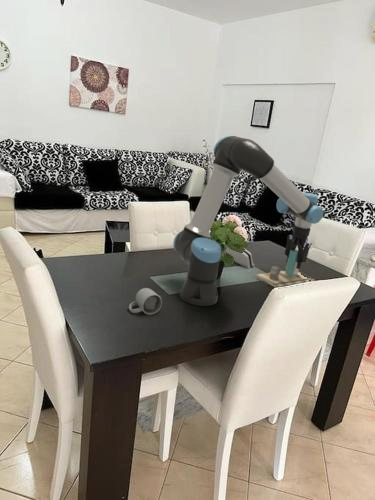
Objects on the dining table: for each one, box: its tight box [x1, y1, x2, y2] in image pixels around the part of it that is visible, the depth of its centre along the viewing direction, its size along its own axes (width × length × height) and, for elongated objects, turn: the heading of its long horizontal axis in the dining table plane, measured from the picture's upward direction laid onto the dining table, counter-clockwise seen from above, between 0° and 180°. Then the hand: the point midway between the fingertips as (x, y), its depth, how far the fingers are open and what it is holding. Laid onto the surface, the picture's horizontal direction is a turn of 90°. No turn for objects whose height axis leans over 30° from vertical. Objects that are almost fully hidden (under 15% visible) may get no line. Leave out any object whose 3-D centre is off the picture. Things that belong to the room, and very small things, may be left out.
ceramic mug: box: [128, 287, 163, 316], centre depth 138 cm, size 11×8×8 cm
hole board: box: [253, 265, 316, 287], centre depth 187 cm, size 28×14×7 cm, turn 123°
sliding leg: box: [285, 249, 298, 276], centre depth 188 cm, size 4×4×13 cm
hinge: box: [225, 247, 255, 269], centre depth 202 cm, size 17×5×10 cm, turn 41°
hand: (291, 272), depth 189 cm, fingers closed on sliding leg, 4 cm apart
